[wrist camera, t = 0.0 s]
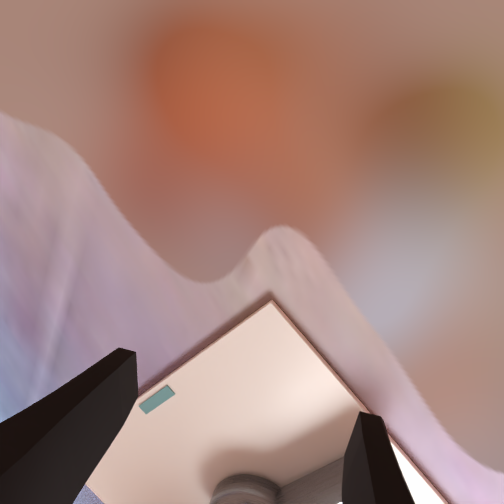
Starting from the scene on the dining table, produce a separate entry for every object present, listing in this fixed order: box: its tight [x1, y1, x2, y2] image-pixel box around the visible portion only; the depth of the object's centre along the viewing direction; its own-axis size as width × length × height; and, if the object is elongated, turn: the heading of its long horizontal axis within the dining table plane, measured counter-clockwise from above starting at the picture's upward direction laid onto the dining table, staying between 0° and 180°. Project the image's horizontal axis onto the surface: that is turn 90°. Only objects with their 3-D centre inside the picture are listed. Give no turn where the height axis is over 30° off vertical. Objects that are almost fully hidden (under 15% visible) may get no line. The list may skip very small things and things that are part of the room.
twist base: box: [85, 300, 448, 504], centre depth 27 cm, size 22×22×1 cm
